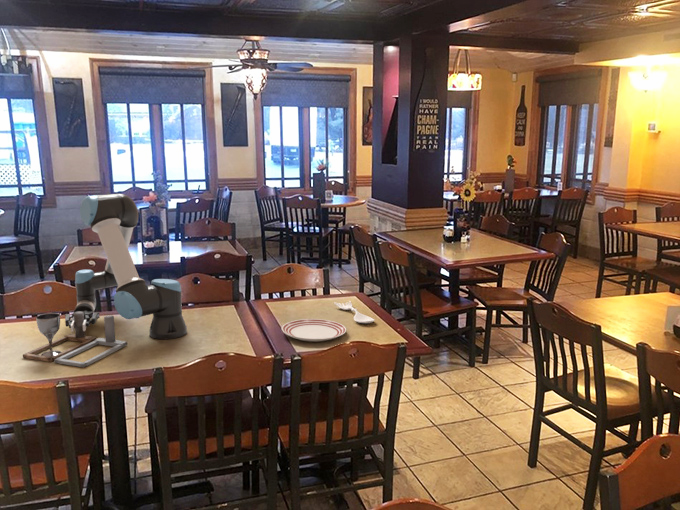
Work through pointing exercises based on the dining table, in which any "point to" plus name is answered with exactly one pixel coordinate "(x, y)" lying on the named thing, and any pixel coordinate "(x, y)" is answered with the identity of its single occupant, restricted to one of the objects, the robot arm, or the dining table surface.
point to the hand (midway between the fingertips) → (77, 328)
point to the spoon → (358, 316)
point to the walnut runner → (77, 336)
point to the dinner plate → (313, 329)
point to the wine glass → (49, 329)
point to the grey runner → (108, 341)
